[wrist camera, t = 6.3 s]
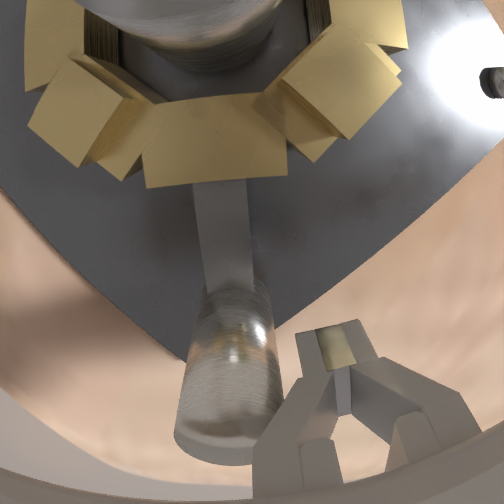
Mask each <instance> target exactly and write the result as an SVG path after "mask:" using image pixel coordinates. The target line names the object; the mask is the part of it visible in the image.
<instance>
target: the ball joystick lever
mask: <svg viewBox="0 0 504 504" xmlns="http://www.w3.org/2000/svg"><path fill="white" fill-rule="evenodd" d="M306 4H307V12H308V21H309V30H310V40H311V44H309V45H308V46H307V47H306V48H305V49H304V50H303V51H302V52H301V53H300V54H299V55H298V56H297V57H296V58H295V59H294V60H293V61H292V62H291V63H290V64H289V65H288V66H287V67H286V68H285V69H284V70H283V71H282V72H281V73H280V74H279V75H278V76H277V77H276V79H275V80H274V81H273V82H272V83H271V84H270V85H269V86H268V87H267V88H266V89H265V90H264V91H263V92H258V93H244V94H231V95H221V96H211V97H203V98H195V99H187V100H180V101H174V102H168V101H167V100H166V99H164V98H163V97H162V96H160V95H159V94H158V93H156V92H155V91H154V90H152V89H151V88H150V87H148V86H147V85H145V84H144V83H143V82H141V81H140V80H139V79H137V78H136V77H134V76H133V75H132V74H130V73H129V72H127V71H126V70H124V69H123V68H122V67H120V66H119V56H118V28H117V27H116V26H114V25H112V24H111V23H109V22H108V21H106V20H104V19H103V18H101V17H99V16H98V15H96V14H94V13H93V12H91V11H89V10H87V9H86V8H84V7H82V6H81V5H79V4H78V3H77V2H75V1H74V0H27V7H26V19H25V40H24V75H25V92H44V93H43V95H42V97H41V98H40V100H39V102H38V104H37V106H36V108H35V109H34V113H33V115H32V117H31V119H30V121H29V123H28V125H27V126H28V127H29V128H30V129H31V130H33V131H34V132H35V133H36V134H37V135H38V136H40V137H41V138H42V139H43V140H44V141H46V142H47V143H48V144H49V145H50V146H51V147H53V148H54V149H55V150H56V151H57V152H59V153H60V154H61V155H62V156H63V157H65V158H66V159H67V160H68V161H70V162H71V163H72V164H73V165H74V166H76V167H77V168H80V167H83V166H85V165H88V164H91V163H93V162H97V163H98V164H100V165H101V166H102V167H103V168H105V169H106V170H107V171H108V172H110V173H111V174H112V175H113V176H115V177H116V178H117V179H119V180H120V181H121V182H122V181H123V180H125V179H127V178H128V177H130V176H132V175H134V174H135V173H137V172H139V171H141V170H142V169H144V176H145V182H146V189H148V188H155V187H163V186H172V185H180V184H189V183H192V188H193V196H194V204H195V211H196V219H197V226H198V233H199V240H200V247H201V254H202V261H203V268H204V274H205V280H206V283H205V285H204V286H203V288H202V291H201V294H200V299H199V304H198V308H197V313H196V318H195V323H194V328H193V333H192V337H191V342H190V347H189V352H188V358H187V363H186V368H185V373H184V378H183V384H182V389H181V394H180V400H179V405H178V411H177V417H176V423H175V428H174V438H175V441H176V443H177V444H178V446H179V447H180V448H181V449H182V450H183V451H185V452H186V453H187V454H189V455H191V456H193V457H195V458H197V459H199V460H202V461H205V462H208V463H212V464H218V465H226V466H242V465H250V464H252V448H253V446H254V445H255V443H256V442H257V440H258V439H259V438H260V436H261V435H262V433H263V432H264V430H265V429H266V427H267V426H268V424H269V423H270V421H271V420H272V418H273V417H274V415H275V414H276V412H277V411H278V409H279V407H280V406H281V404H282V403H283V401H284V396H283V389H282V381H281V374H280V366H279V359H278V352H277V344H276V337H275V330H274V323H273V315H272V308H271V301H270V294H269V291H268V289H267V287H266V285H265V284H264V283H263V282H262V280H260V279H259V278H258V277H257V276H255V275H253V263H252V251H251V238H250V226H249V213H248V201H247V188H246V178H255V177H269V176H286V175H288V170H287V151H286V143H287V144H289V145H290V146H291V147H292V148H293V149H294V150H295V151H296V152H298V153H299V154H301V155H302V156H304V157H305V158H307V159H308V160H310V161H311V162H313V163H314V162H315V161H316V160H317V159H318V158H319V157H320V156H321V155H322V154H323V153H324V152H325V151H326V150H327V149H328V147H329V146H330V145H331V144H332V143H333V142H334V141H335V140H336V139H337V138H342V139H346V140H350V139H351V138H352V137H353V136H354V134H355V133H356V132H357V131H358V130H359V129H360V128H361V127H362V126H363V125H364V124H365V123H366V122H367V121H368V120H369V118H370V117H371V116H372V115H373V114H374V113H375V112H376V111H377V110H378V109H379V108H380V107H381V106H382V105H383V104H384V103H385V101H386V100H387V99H388V98H389V97H390V96H391V95H392V94H393V93H394V92H395V91H396V90H397V89H398V88H399V87H400V86H401V84H402V82H401V81H400V80H399V79H398V78H397V77H396V76H397V75H398V74H399V72H400V71H401V69H400V68H399V67H398V66H397V65H396V64H395V63H394V62H393V61H392V60H391V59H390V57H389V56H388V55H391V54H394V53H397V52H400V51H403V50H406V49H408V43H407V35H406V27H405V20H404V14H403V8H402V2H401V0H306Z"/></svg>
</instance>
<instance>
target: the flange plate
mask: <svg viewBox="0 0 504 504" xmlns="http://www.w3.org/2000/svg"><path fill="white" fill-rule="evenodd" d="M74 1H75V2H77V3H78V4H79V5H81V6H82V7H84V8H86V9H87V10H89V11H91V12H93V13H94V14H96V15H98V16H99V17H101V18H103V19H104V20H106V21H108V22H109V23H111V24H112V25H114V26H116V27H117V28H118V56H119V66H120V67H122V68H123V69H124V70H126V71H127V72H129V73H130V74H132V75H133V76H134V77H136V78H137V79H139V80H140V81H141V82H143V83H144V84H145V85H147V86H148V87H150V88H151V89H152V90H154V91H155V92H156V93H158V94H159V95H160V96H162V97H163V98H164V99H166V100H167V101H168V102H174V101H180V100H187V99H195V98H203V97H211V96H221V95H231V94H244V93H258V92H263V91H264V90H265V89H266V88H267V87H268V86H269V85H270V84H271V83H272V82H273V81H274V80H275V79H276V77H277V76H278V75H279V74H280V73H281V72H282V71H283V70H284V69H285V68H286V67H287V66H288V65H289V64H290V63H291V62H292V61H293V60H294V59H295V58H296V57H297V56H298V55H299V54H300V53H301V52H302V51H303V50H304V49H305V48H306V47H307V46H308V45H309V44H311V40H310V30H309V21H308V12H307V4H306V0H74ZM401 2H402V8H403V14H404V20H405V27H406V35H407V43H408V49H406V50H403V51H400V52H397V53H394V54H391V55H388V56H389V57H390V59H391V60H392V61H393V62H394V63H395V64H396V65H397V66H398V67H399V68H400V69H401V71H400V72H399V74H398V75H397V76H396V77H397V78H398V79H399V80H400V81H401V82H402V84H401V86H400V87H399V88H398V89H397V90H396V91H395V92H394V93H393V94H392V95H391V96H390V97H389V98H388V99H387V100H386V101H385V103H384V104H383V105H382V106H381V107H380V108H379V109H378V110H377V111H376V112H375V113H374V114H373V115H372V116H371V117H370V118H369V120H368V121H367V122H366V123H365V124H364V125H363V126H362V127H361V128H360V129H359V130H358V131H357V132H356V133H355V134H354V136H353V137H352V138H351V139H350V140H346V139H342V138H337V139H336V140H335V141H334V142H333V143H332V144H331V145H330V146H329V147H328V149H327V150H326V151H325V152H324V153H323V154H322V155H321V156H320V157H319V158H318V159H317V160H316V161H315V162H314V163H313V162H311V161H310V160H308V159H307V158H305V157H304V156H302V155H301V154H299V153H298V152H296V151H295V150H294V149H293V148H292V147H291V146H290V145H289V144H287V143H286V151H287V170H288V175H286V176H269V177H255V178H246V188H247V201H248V213H249V226H250V238H251V251H252V263H253V275H255V276H257V277H258V278H259V279H260V280H262V282H263V283H264V284H265V285H266V287H267V289H268V291H269V294H270V301H271V308H272V315H273V323H274V330H275V329H276V328H278V327H279V326H280V325H282V324H283V323H285V322H286V321H287V320H289V319H290V318H292V317H293V316H294V315H296V314H297V313H299V312H300V311H301V310H303V309H304V308H305V307H307V306H308V305H309V304H311V303H312V302H314V301H315V300H316V299H318V298H319V297H320V296H322V295H323V294H324V293H326V292H327V291H328V290H330V289H331V288H332V287H333V286H335V285H336V284H337V283H339V282H340V281H341V280H343V279H344V278H345V277H346V276H348V275H349V274H350V273H352V272H353V271H354V270H355V269H357V268H358V267H359V266H360V265H362V264H363V263H364V262H366V261H367V260H368V259H369V258H370V257H372V256H373V255H374V254H375V253H377V252H378V251H379V250H380V249H382V248H383V247H384V246H385V245H386V244H388V243H389V242H390V241H391V240H393V239H394V238H395V237H396V236H397V235H398V234H400V233H401V232H402V231H403V230H404V229H406V228H407V227H408V226H409V225H410V224H411V223H413V222H414V221H415V220H416V219H417V218H418V217H420V216H421V215H422V214H423V213H424V212H425V211H426V210H428V209H429V208H430V207H431V206H432V205H433V204H434V203H435V202H437V201H438V200H439V199H440V198H441V197H442V196H443V195H444V194H445V193H447V192H448V191H449V190H450V189H451V188H452V187H453V186H454V185H455V184H456V183H457V182H459V181H460V180H461V179H462V178H463V177H464V176H465V175H466V174H467V173H468V172H469V171H470V170H471V169H472V168H473V167H474V166H475V165H476V164H478V163H479V162H480V161H481V160H482V159H483V158H484V157H485V156H486V155H487V154H488V153H489V152H490V151H491V150H492V149H493V148H494V147H495V146H496V145H497V144H498V143H499V142H500V141H501V140H502V139H503V138H504V35H503V34H502V32H501V30H500V29H499V27H498V25H497V24H496V22H495V20H494V19H493V17H492V15H491V14H490V12H489V11H488V9H487V8H486V6H485V5H484V3H483V2H482V0H401ZM26 7H27V0H0V186H1V188H2V189H3V190H4V191H5V192H6V194H7V195H8V196H9V197H10V199H11V200H12V201H13V202H14V203H15V204H16V206H17V207H18V208H19V209H20V210H21V211H22V213H23V214H24V215H25V216H26V217H27V218H28V219H29V221H30V222H31V223H32V224H33V225H34V226H35V227H36V228H37V229H38V230H39V232H40V233H41V234H42V235H43V236H44V237H45V238H46V239H47V240H48V241H49V242H50V243H51V244H52V245H53V246H54V247H55V249H56V250H57V251H58V252H59V253H60V254H61V255H62V256H63V257H64V258H65V259H66V260H67V261H68V262H69V263H70V264H71V265H72V266H73V267H74V268H75V269H76V270H77V271H78V272H79V273H81V274H82V275H83V276H84V277H85V278H86V279H87V280H88V281H89V282H90V283H91V284H92V285H93V286H94V287H95V288H96V289H97V290H99V291H100V292H101V293H102V294H103V295H104V296H105V297H106V298H107V299H108V300H110V301H111V302H112V303H113V304H114V305H115V306H116V307H117V308H119V309H120V310H121V311H122V312H123V313H124V314H125V315H127V316H128V317H129V318H130V319H131V320H132V321H134V322H135V323H136V324H137V325H138V326H140V327H141V328H142V329H143V330H144V331H146V332H147V333H148V334H149V335H151V336H152V337H153V338H154V339H156V340H157V341H158V342H159V343H161V344H162V345H163V346H164V347H166V348H167V349H168V350H169V351H171V352H172V353H173V354H175V355H176V356H177V357H179V358H180V359H181V360H183V361H184V362H185V363H187V358H188V352H189V347H190V342H191V337H192V333H193V328H194V323H195V318H196V313H197V308H198V304H199V299H200V294H201V291H202V288H203V286H204V285H205V283H206V280H205V274H204V268H203V261H202V254H201V247H200V240H199V233H198V226H197V219H196V211H195V204H194V196H193V188H192V183H189V184H180V185H172V186H163V187H155V188H148V189H146V182H145V176H144V169H142V170H141V171H139V172H137V173H135V174H134V175H132V176H130V177H128V178H127V179H125V180H123V181H122V182H121V181H120V180H119V179H117V178H116V177H115V176H113V175H112V174H111V173H110V172H108V171H107V170H106V169H105V168H103V167H102V166H101V165H100V164H98V163H97V162H93V163H91V164H88V165H85V166H83V167H80V168H77V167H76V166H74V165H73V164H72V163H71V162H70V161H68V160H67V159H66V158H65V157H63V156H62V155H61V154H60V153H59V152H57V151H56V150H55V149H54V148H53V147H51V146H50V145H49V144H48V143H47V142H46V141H44V140H43V139H42V138H41V137H40V136H38V135H37V134H36V133H35V132H34V131H33V130H31V129H30V128H29V127H28V126H27V125H28V123H29V121H30V119H31V117H32V115H33V113H34V109H35V108H36V106H37V104H38V102H39V100H40V98H41V97H42V95H43V93H44V92H25V75H24V40H25V19H26Z"/></svg>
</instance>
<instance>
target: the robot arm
mask: <svg viewBox="0 0 504 504" xmlns="http://www.w3.org/2000/svg"><path fill="white" fill-rule="evenodd" d="M295 338H296V343H297V348H298V353H299V358H300V363H301V368H302V373H303V377H302V378H298V379H297V380H296V382H295V384H294V385H293V387H292V388H291V390H290V392H289V393H288V395H287V396H286V398H285V400H284V401H283V403H282V404H281V406H280V407H279V409H278V411H277V412H276V414H275V415H274V417H273V418H272V420H271V421H270V423H269V424H268V426H267V427H266V429H265V430H264V432H263V433H262V435H261V436H260V438H259V439H258V440H257V442H256V443H255V445H254V446H253V448H252V480H253V499H244V500H243V499H242V500H225V501H168V500H152V499H140V498H130V497H121V496H113V495H107V494H101V493H95V492H89V491H83V490H79V489H74V488H69V487H64V486H60V485H56V484H52V483H49V482H45V481H41V480H37V479H34V478H31V477H27V476H24V475H21V474H18V473H15V472H12V471H9V470H6V469H3V468H0V504H504V420H503V421H502V422H500V423H498V424H496V425H495V426H493V427H491V428H489V429H487V430H485V431H483V432H482V431H481V429H480V427H479V425H478V424H477V422H476V420H475V418H474V417H473V415H472V413H471V412H470V410H469V408H468V406H467V405H466V403H465V401H464V400H463V398H462V396H461V395H460V393H459V392H457V391H454V390H452V389H450V388H448V387H446V386H444V385H442V384H440V383H437V382H435V381H433V380H431V379H429V378H427V377H425V376H423V375H421V374H419V373H416V372H414V371H412V370H410V369H408V368H406V367H404V366H402V365H400V364H398V363H396V362H394V361H392V360H390V359H388V358H386V357H381V358H378V356H377V354H376V352H375V350H374V348H373V346H372V344H371V342H370V340H369V338H368V336H367V334H366V332H365V330H364V328H363V326H362V324H361V322H360V320H358V319H355V320H351V321H348V322H344V323H341V324H338V325H333V326H328V327H324V328H319V329H315V330H310V331H306V332H301V333H296V334H295ZM347 414H352V415H353V416H354V417H355V418H357V419H358V420H359V421H360V422H362V423H363V424H364V425H365V426H366V427H368V428H369V429H370V430H372V431H373V432H374V433H375V434H377V435H378V436H379V437H380V438H382V439H383V440H384V441H385V442H387V443H388V444H389V445H390V450H389V455H388V459H387V464H386V468H385V472H384V473H381V474H378V475H374V476H371V477H367V478H364V479H360V480H356V481H353V482H349V483H345V484H344V483H343V479H342V475H341V470H340V466H339V462H338V458H337V453H336V449H335V445H334V441H333V440H331V439H330V437H331V435H332V433H333V430H334V428H335V425H336V423H337V420H338V417H340V416H343V415H347Z"/></svg>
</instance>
